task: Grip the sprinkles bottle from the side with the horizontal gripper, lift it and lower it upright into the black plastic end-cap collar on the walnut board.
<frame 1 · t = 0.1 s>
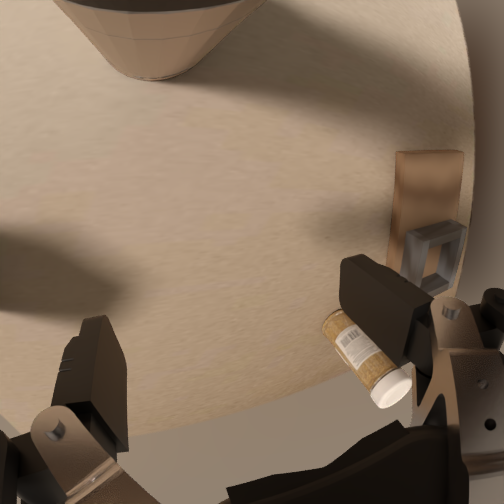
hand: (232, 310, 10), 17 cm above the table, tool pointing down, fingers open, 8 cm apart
sprinkles bottle: (335, 321, 38), on the table
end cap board: (421, 232, 36), on the table
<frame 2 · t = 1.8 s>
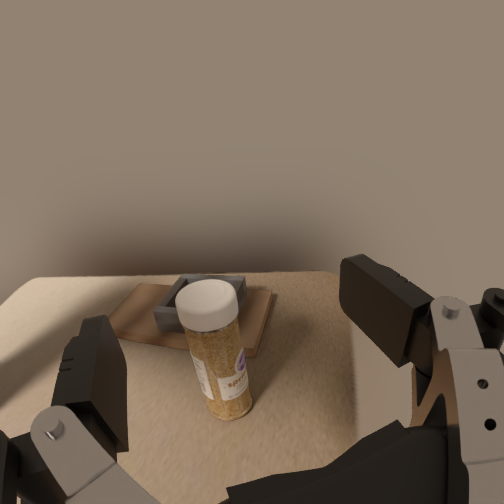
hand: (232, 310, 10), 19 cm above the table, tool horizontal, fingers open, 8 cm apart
sprinkles bottle: (230, 405, 28), on the table
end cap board: (186, 318, 41), on the table
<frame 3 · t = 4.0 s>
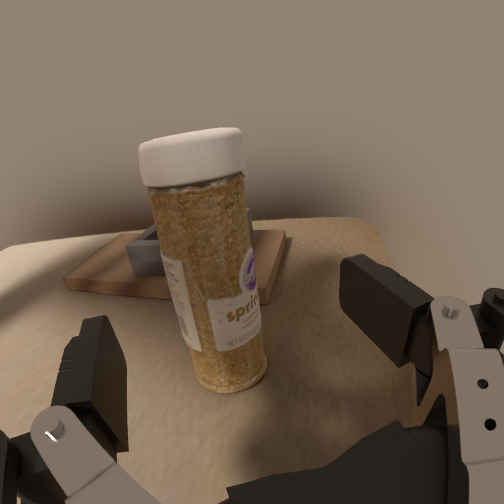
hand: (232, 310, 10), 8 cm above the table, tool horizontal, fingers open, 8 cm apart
sprinkles bottle: (231, 370, 18), on the table
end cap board: (173, 266, 32), on the table
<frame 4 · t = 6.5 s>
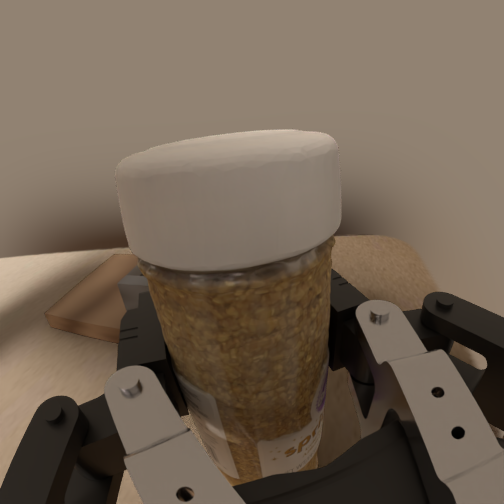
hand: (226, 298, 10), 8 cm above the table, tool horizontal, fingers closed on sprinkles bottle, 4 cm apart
sprinkles bottle: (268, 468, 12), on the table, touching gripper
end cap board: (178, 302, 25), on the table
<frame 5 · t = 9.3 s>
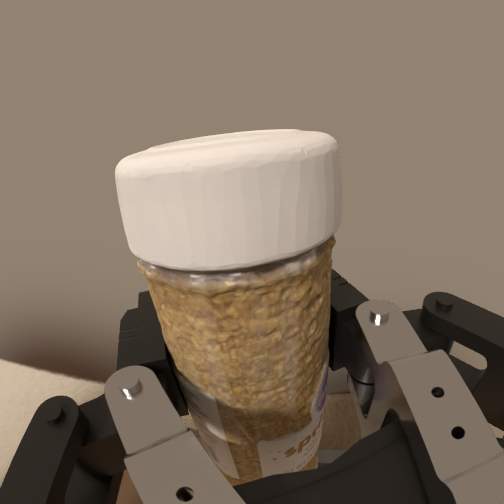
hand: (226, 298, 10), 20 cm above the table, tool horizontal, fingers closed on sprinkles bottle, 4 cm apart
sprinkles bottle: (268, 468, 12), point 11 cm above the table, touching gripper
when the fingers open (10 cm above the table, at t = 12.3 s): sprinkles bottle stays where it is, resting on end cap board.
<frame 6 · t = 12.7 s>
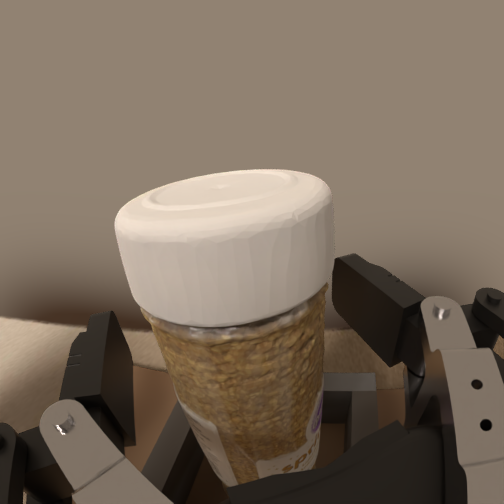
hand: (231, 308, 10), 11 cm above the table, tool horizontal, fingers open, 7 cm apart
sprinkles bottle: (269, 478, 12), point 1 cm above the table, touching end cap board
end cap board: (216, 475, 13), on the table
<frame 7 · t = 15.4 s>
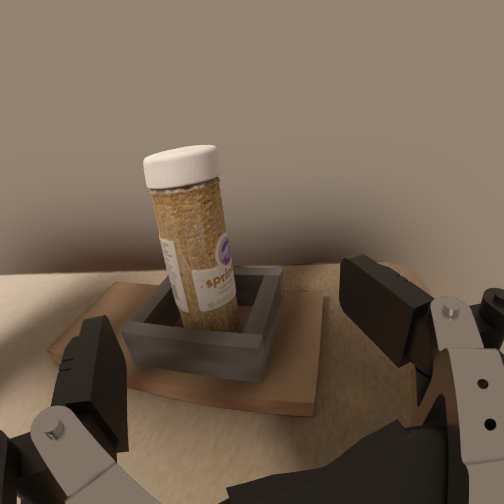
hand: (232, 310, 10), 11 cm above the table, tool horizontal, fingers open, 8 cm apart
sprinkles bottle: (214, 333, 23), point 1 cm above the table, touching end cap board
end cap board: (183, 340, 24), on the table
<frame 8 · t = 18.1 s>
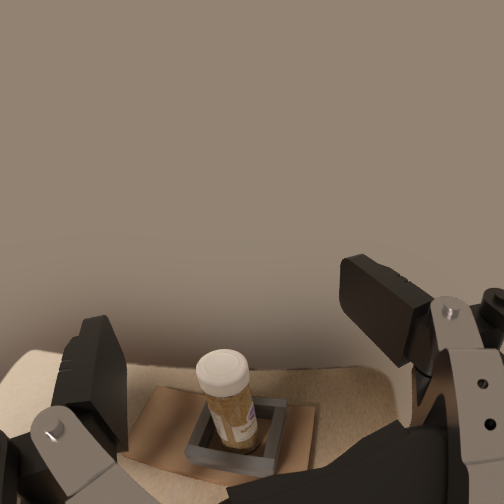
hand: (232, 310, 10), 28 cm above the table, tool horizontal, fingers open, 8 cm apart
sprinkles bottle: (241, 441, 31), point 1 cm above the table, touching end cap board
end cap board: (219, 441, 32), on the table
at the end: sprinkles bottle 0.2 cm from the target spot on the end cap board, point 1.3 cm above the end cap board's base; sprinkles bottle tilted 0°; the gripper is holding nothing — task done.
